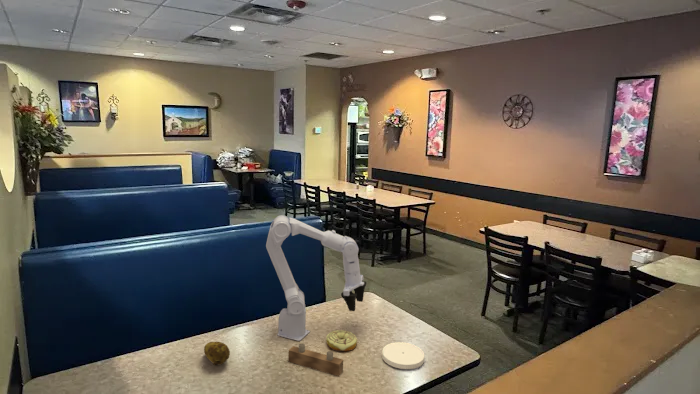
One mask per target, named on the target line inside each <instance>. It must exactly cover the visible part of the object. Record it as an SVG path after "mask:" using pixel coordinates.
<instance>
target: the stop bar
mask: <svg viewBox="0 0 700 394" xmlns="http://www.w3.org/2000/svg"><path fill="white" fill-rule="evenodd" d="M287 354H288V357H287V358H288V362H289V363H291V364H295V365H298V366H301V367H305V368H309V369H312V370H316V371H319V372H322V373H326V374H329V375H333V376H337V377H340V376H341V374H342V373H343V371H344V359H342V358H339V357H334V351H330V350H329V351H327V352H326V354H323V353H320V352H316V351H313V350H310V349H306V344H304V343H299V344H298V346H295V345H293V346H292V347H291V348H289V350H288V353H287Z"/></svg>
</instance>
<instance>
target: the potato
mask: <svg viewBox="0 0 700 394" xmlns="http://www.w3.org/2000/svg"><path fill="white" fill-rule="evenodd" d="M203 351H204V352H203V353H204V355H205V357H206V358H207V359H208V360H209V361H210V362H211V363H212V365H214V366H218V365H219V366H220V365H223V364H224V363H226V362H227V361H228V359H229V358H230V354H231V351H230V349H229V347H228V345H227V344H226V343H224V342H221V341H210V342H207V343H206V344H205V345H204V349H203Z"/></svg>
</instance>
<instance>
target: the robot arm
mask: <svg viewBox="0 0 700 394" xmlns="http://www.w3.org/2000/svg"><path fill="white" fill-rule="evenodd" d="M299 234H301V235H303V236H306V237H309V238H312V239H315V240H318V241H320V243H321V245H322V246H323V247H326V248H329V249H330V250H333V251H336V252H339V253H340V252H341V253H342V264H343V266H342V267H343V271H344V273H343V274H344V281H345V283H344V288H343V289H342V292H341V294H340V295H341V298H342V299H343V300H344V301H345V303H346V306H347V309H348V311H349V312H355V311H356V302H363V301H364V294H365V289H366V285H367V281H364V274H361V269H360V261H359V260H360V259H359V255H358V254H359V249H360V248H359V246H358V244H357V242H356V240H354V238H352V237H350V236H347V235H344V236H343V235H341V234H339V233H336V230H334V229H332V230H329V229H328V230H326V231H322V230H320V229H318V228H316V227H313V226H311V225H309V224H307V223H305V222H303V221H300V220H298V219H296V218H293V217H288V216H286V215H285V214H282V215H278V216H276V217H275V218H274V219H273V221H272V222H271V224H270V227H269V231H268V234H267V238H266V244H265V247H266V248H265V249H266V250H267V253H268V255H269V257H270V260H271V263H272V265H273V267H274V269H275V272H276V275H277V277H278V279H279V282H280V284H281V288H282V290H283V291H284V296H285V300H286V302H287V306H286V307H287V308H286V307H285V308H282V309H281V310H280V311H279V315H278V321H277V322H278V324H277V325H278V326H277V327H278V332H277V334H276V335H277V336H279V337H282V338H285V339H289V340H294V341H297V342H300V341H302V340H303V339H304V338H305V337H306V336H308V334H309V333H310V332H311V331H310V330H308V329H306V323H307V322H306V321H307V320H306V319H307V318H306V315H307V309H306V304H305V303H306V302H305V293H304V292H303V291H302V290H301V289H300V288H299V285H298V284H297V283H296V281H295V279H294V276H293V273H292V270H291V268H290V266H289V263H288V261H287V258H286V257H285V253H284V251H283V249H282V245H283V242H284V241H285V240H286V238H288V237H289V236H290V235H291V236H292V237H293V236H297V235H299ZM353 291H354V292H353Z"/></svg>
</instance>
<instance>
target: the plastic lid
mask: <svg viewBox="0 0 700 394" xmlns="http://www.w3.org/2000/svg"><path fill="white" fill-rule="evenodd" d="M381 357H382V360H383V361H384V362H385V363H386V364H387V365H389V366H390V367H393V368H396V369H401V370H413V369H418V368H420V367H421V366H422V365H423V364H424V362H425V352H424V351H423V349H421V348H420V347H419V346H416V345H415V344H413V343H408V342H402V341H400V342H398V341H397V342H391V343H388V344H386V345H385V346H383V347H382V349H381Z"/></svg>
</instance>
